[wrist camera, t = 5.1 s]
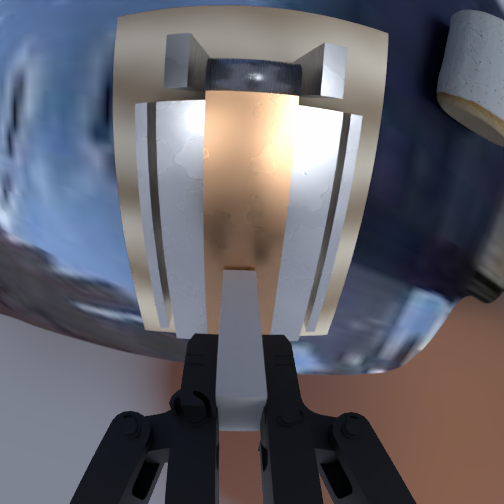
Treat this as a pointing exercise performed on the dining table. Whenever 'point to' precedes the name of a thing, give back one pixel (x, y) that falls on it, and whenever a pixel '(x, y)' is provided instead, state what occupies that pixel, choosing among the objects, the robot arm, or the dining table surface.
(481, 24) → the ceramic mug
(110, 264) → the dining table surface
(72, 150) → the dining table surface
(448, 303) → the dining table surface
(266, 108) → the strap
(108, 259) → the dining table surface
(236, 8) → the board
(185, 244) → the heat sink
